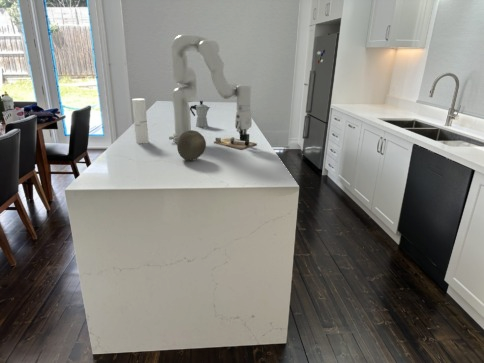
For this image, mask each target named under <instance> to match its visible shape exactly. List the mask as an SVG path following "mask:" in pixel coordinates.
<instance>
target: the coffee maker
mask: <svg viewBox="0 0 484 363" xmlns="http://www.w3.org/2000/svg"><path fill="white" fill-rule="evenodd" d="M203 103H204V101H203V100H200V101H199V104H194V105H190V106H189V107H190V113H191V114H192V116H193V117H195V116H196V124H195V126H196V128H207V127H208V126H209V125H208V120H207V119H208V118H207V115H208V111H209V110H210V109H211V106H208V105H206V104H203ZM194 110H195V111H196V114H195V112H194Z"/></svg>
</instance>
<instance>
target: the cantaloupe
mask: <svg viewBox="0 0 484 363" xmlns="http://www.w3.org/2000/svg"><path fill="white" fill-rule="evenodd" d="M206 141H207V140H206V139H205V137H204V136H203V135H202V134H201V132H200V131H197V130H194V129H191V130H189V131H186V132H184V133H182V134H181V135H180V137H179V139H178V142H176V144H177V145H176V149H177V153H178V155H179V156H180V157H181V158H182V159H184V160H185V161H188V162H189V161H190V162H191V161H195V160H197V159H198V158H199V157H201V156H202V155H203V154H204V152H205V151H206V147H207V142H206Z"/></svg>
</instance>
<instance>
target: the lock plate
mask: <svg viewBox="0 0 484 363" xmlns="http://www.w3.org/2000/svg"><path fill="white" fill-rule="evenodd" d="M231 137H232V136H229V137H226V138H223V139H222V138H221V137H217V136H216V137H215V140H214V141H213V144H216V145H220V146H224V147H228V148H231V149H236V150H240V151H242V150H244V149H248V148H251V147H254V146H257V145H258V143H257V142H251V141H249V145H243V144H235V143H230V138H231ZM234 140H238V141H240V138H235V137H234Z"/></svg>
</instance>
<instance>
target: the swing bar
mask: <svg viewBox="0 0 484 363" xmlns="http://www.w3.org/2000/svg"><path fill="white" fill-rule="evenodd" d="M230 137H231V138H230ZM230 137H229V138H230V143H235V144H243V145H249V142H250V133H246V141H238V140H234V138H235V136H230Z"/></svg>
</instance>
